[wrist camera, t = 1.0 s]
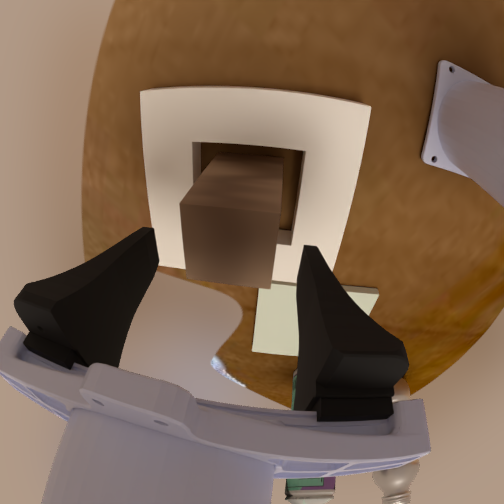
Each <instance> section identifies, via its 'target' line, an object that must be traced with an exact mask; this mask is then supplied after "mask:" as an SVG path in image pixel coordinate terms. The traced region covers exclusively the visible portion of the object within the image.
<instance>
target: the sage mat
mask: <svg viewBox="0 0 504 504" xmlns="http://www.w3.org/2000/svg"><path fill="white" fill-rule="evenodd" d="M296 285H297V283H293V282H284V281H275V280H272V282H271V289H262V288H259V294H258V303H257V312H256V321H255V330H254V339H253V347H252V351H253V352H262V353H270V354H280V355H291V356H298V351H299V331H298V317H297V303H296ZM341 286H342V287H343V288H344V290H345V291H346V292H347V293H348V295H349V296H350V297H351V298H352V299H353V300H354V302H355V303H356V304H357V305H358V306H359V307H360V308H361V309H362V310H363V311H364V312H365V313H366V314H367V315H368V316H369V314H370V312H371V310H372V308H373V306H374V304H375V302H376V300H377V298H378V296H379V292H378V289H377V288H366V287H356V286H346V285H341Z"/></svg>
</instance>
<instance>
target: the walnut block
mask: <svg viewBox="0 0 504 504" xmlns="http://www.w3.org/2000/svg"><path fill="white" fill-rule="evenodd" d="M283 161H284V158H281V157H272V156H262V155H252V154H240V153H226V152H218V153H217V155H216V156H215V157H214V158H213V160H212V161H211V162H210V163H209V165H208V166H207V167H206V169H205V170H204V171H203V172H202V174H201V175H200V176H199V178H198V179H197V180H196V182H195V183H194V184H193V186H192V187H191V188H190V190H189V191H188V192H187V194H186V195H185V196H184V198H183V199H182V201H181V202H180V203H179V206H180V218H181V230H182V240H183V250H184V259H185V267H186V276H187V279H194V280H201V281H208V282H215V283H223V284H230V285H238V286H246V287H254V288H262V289H271V282H272V275H273V268H274V261H275V254H276V246H277V239H278V231H279V224H280V216H281V202H282V183H283Z"/></svg>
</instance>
